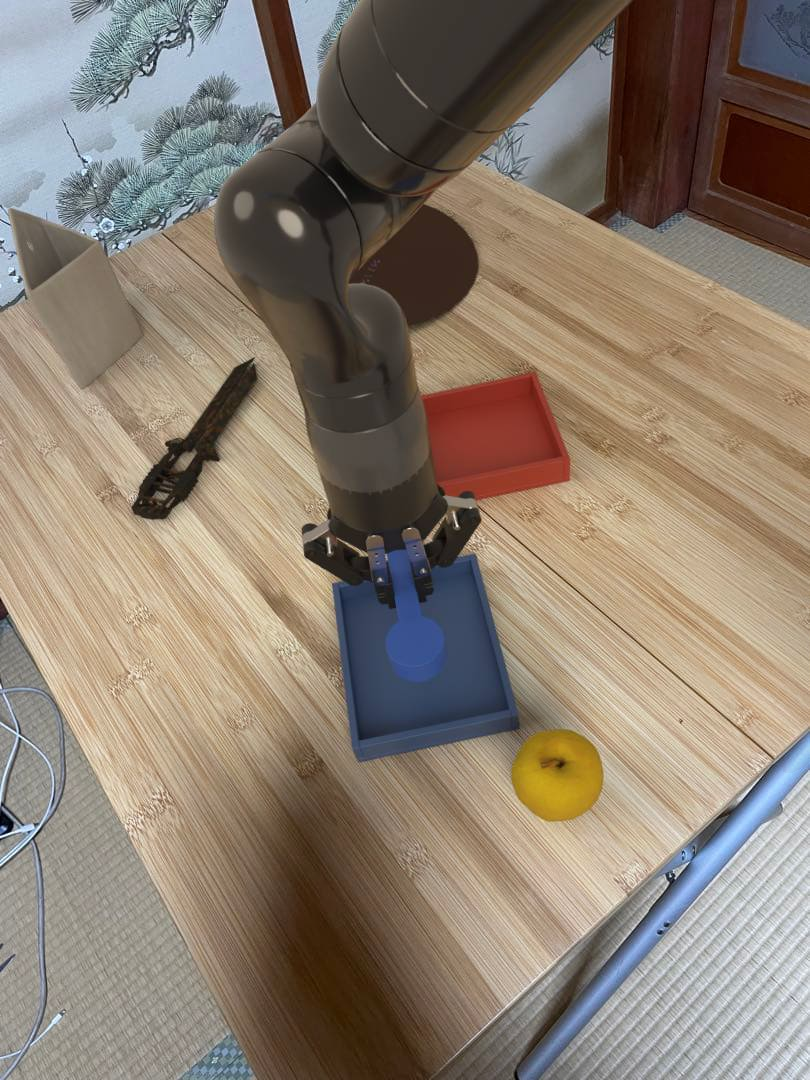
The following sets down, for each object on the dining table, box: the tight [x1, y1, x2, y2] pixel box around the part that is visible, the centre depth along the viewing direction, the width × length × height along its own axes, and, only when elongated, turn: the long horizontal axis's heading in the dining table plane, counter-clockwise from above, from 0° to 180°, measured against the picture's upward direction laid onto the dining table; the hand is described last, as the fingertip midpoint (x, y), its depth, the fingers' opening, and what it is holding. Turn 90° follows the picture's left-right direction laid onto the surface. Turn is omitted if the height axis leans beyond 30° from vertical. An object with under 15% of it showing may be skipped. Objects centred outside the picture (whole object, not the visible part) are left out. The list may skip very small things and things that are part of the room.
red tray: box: [421, 371, 571, 501], centre depth 85 cm, size 15×13×3 cm
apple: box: [510, 728, 604, 823], centre depth 60 cm, size 6×6×8 cm
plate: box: [348, 203, 479, 326], centre depth 107 cm, size 28×28×4 cm
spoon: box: [385, 550, 447, 682], centre depth 65 cm, size 11×4×2 cm, turn 9°
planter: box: [7, 207, 144, 390], centre depth 99 cm, size 16×8×19 cm, turn 11°
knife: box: [131, 356, 258, 521], centre depth 92 cm, size 25×6×1 cm, turn 154°
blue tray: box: [331, 553, 520, 763], centre depth 71 cm, size 13×16×3 cm
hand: (406, 596), depth 67 cm, fingers closed on spoon, 2 cm apart
